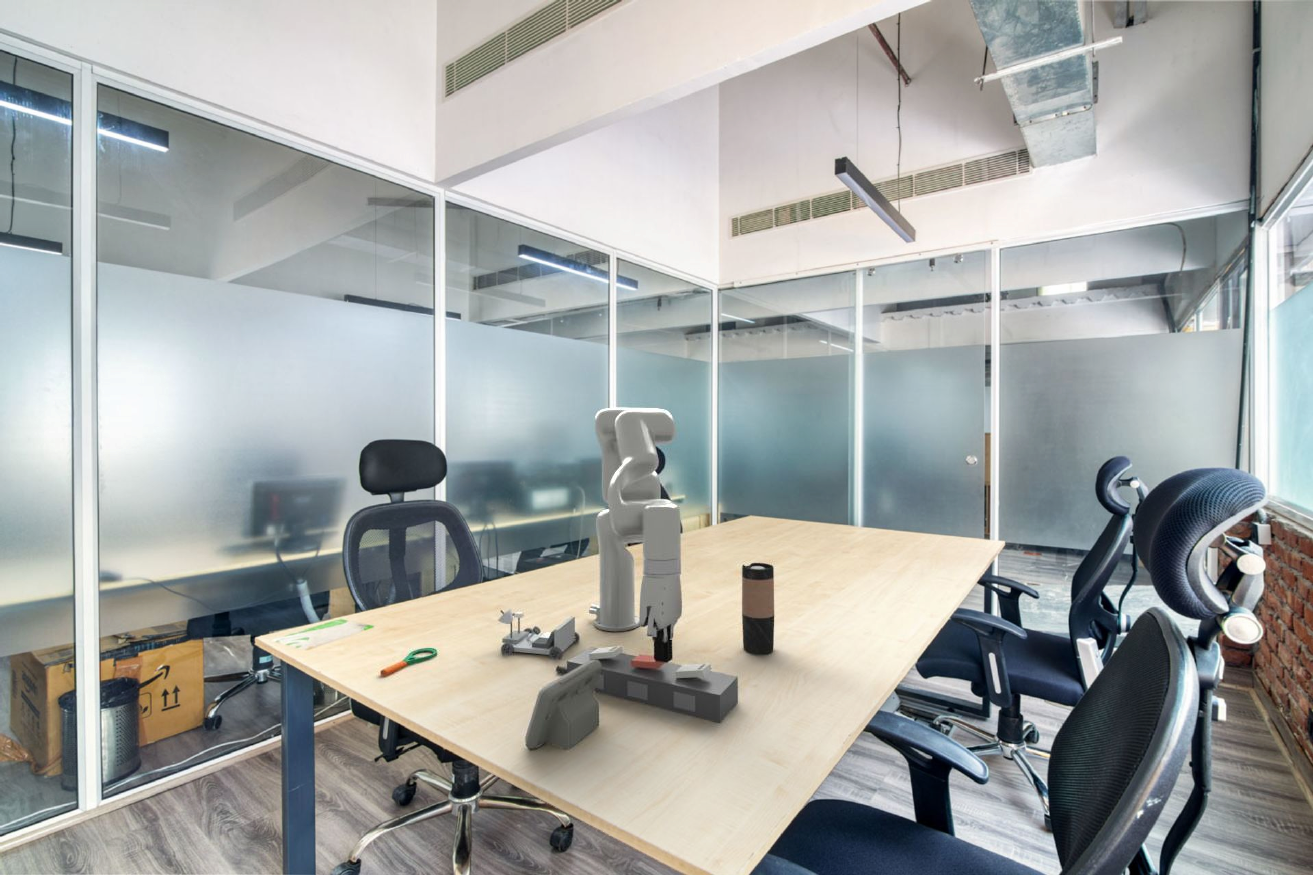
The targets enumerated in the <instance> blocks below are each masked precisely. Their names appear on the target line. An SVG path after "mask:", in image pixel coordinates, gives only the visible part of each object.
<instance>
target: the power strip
mask: <svg viewBox="0 0 1313 875" xmlns="http://www.w3.org/2000/svg"><path fill="white" fill-rule="evenodd" d="M598 648H599V647H593V646H591V647H589V648H588V649H586V650H584V651H582V652H581V653H578V654H577V655H575V656H574V657H572V658H570V659H568V660H566V667H565V666H561V665H557V666H556V668H555V671H556V672H557V673H561V674H564V675H565V674H567V673H569V672H571V671H572V670H574V669H576V668H578V667H579V666H581V665H583V664H584V663H586V662H588V661H590V657H589V653H591V652H593V651H595V650H596V649H598ZM637 656H638V655H634V654H628V653H623V652H622V653H620V654H619V655H617V656H615V657H614V658H603V659H592V660H599V661H600V663H601V672H600V675H599V678H598V682H597V685H596V688H595V691H594V693H598V694H602V695H605V696H610V697H613V698H618V699H620V700H621V699H622V700H625V701H631V702H634V703H638V704H642V705H646V706H650V707H654V708H657V709H662V710H666V711H670V712H674V713H678V714H682V715H686V716H691V717H695V718H699V719H702V720H706V721H710V722H714V723H719V724H721V723H722V722H723V720H725V718H726V717H727V716H728V715H729V714H730V712H731V711H732V710H733V709H734V708H735V707H736V706H737V704H739V676H737V675H732V674H727V673H722V672H717V671H712V670H711V671H710V672H709V673H707V674H706V675H705V676H704V677H689V678H676V675H675V671H677V670H678V669H679V668H680V667H681V666H683V665H684V664H683V665H682V664H677V663H673V662H670V661H669V662H668V663H665V664H663V665H662V666H661V667H659V668H658V669H654V668H643V667H631V660H632V659H634V658H635V657H637Z"/></svg>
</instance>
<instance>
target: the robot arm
mask: <svg viewBox="0 0 1313 875" xmlns="http://www.w3.org/2000/svg"><path fill="white" fill-rule="evenodd" d="M594 429H595V435H596V438H597V441H598V444H599V447H600V450H601V456H602V457H601V493H602V495H601V496H602V498H603V501H604V502H605V503H607V507H608V508H607V509H604V510H602V511H601V512H599V513H598V514H597V516H596V519H595V528H596V529H595V531H596V537H597V541H598V542H597V544H598V556H599V558H598V559H599V560H598V561H599V563H598V564H599V605H598V604H591V605H590V606H589V607H590V608H589V610H588V613H589V614H591V615H595V616H596V617H595V619H594V621H593V625H594V627H596V628H597V629H599V630H601V631H607V632H623V631H624V632H625V631H630V630H633V629H636V628H638V627H641V628H644V627H645V628H646V627H647V629H646V636H647V637H651V639H652V641H653V655H654V660H655V661H660V662H666V663H668V662H669V663H670V661H672V660H673V638H674V629H675V628H674V627H675V625H676V624H677V623H678V622H679V621H678V620H679V619H680V618H681V617H682V614H683V613H682V611H683V599H682V598H683V596H682V583H681V582H682V581H681V576H680V575H681V574H682V553H681V552H682V551H681V549H682V548H681V547H682V546H681V544H682V543H681V541H682V540H681V538H682V537H681V510H680V507H679V506H678V505H677V504H675V503H674V502H673V501H672V500H671V499H670V500H669V499H665V498H662V497H661V494H662V492H661V480H660V476H659V474H658V473H657V472H656V470H657V469H658V467H659V463H660V460H659V457H658V452H657V447H656V445H669V444H671V443H673V441H674V439H675V437H676V423H675V419H674V416H672V414H671V412H669V411H668V410H666V409H661V408H655V407H652V408H651V407H648V408H647V407H610V408H603V409H600V410H598V412H597V413H596V414H595V418H594ZM634 543H642V575H643V576H642V579H641V583H640V584H641V585H640V596H639V615H638V616H637V615H635V614H636V613H635V610H636V609H635V608H636V607H635V606H636V605H635V599H636V598H635V596H636V595H635V594H636V592H635V559H634V556H633V554H632V553H631V552H630V551H629V550H628V548H627V547H626V546H625V545H626V544H634Z"/></svg>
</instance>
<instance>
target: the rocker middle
mask: <svg viewBox="0 0 1313 875" xmlns="http://www.w3.org/2000/svg"><path fill="white" fill-rule="evenodd" d="M636 656H637V657H635V658H634V659H632V660H631V667H643V668H654V669H658V668H659V667H661V666H662V665H663V664H665V663H666V662H660V661H655V660H654V654H653V655H652V654H638V655H636Z"/></svg>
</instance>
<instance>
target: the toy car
mask: <svg viewBox="0 0 1313 875" xmlns="http://www.w3.org/2000/svg"><path fill="white" fill-rule="evenodd" d="M500 613H501V614H502V615H501V616H500V617H499V618H498V619H497V621H498V622H499V623H501V624H505V625H510V633H509V634H507V635H506V636H504V637H503V638H502V639H501V640H502V645H501V648H500V651H501V653H502V655H508V656H511V655H513V653H514V652H517V653H526V654H527V653H528V654H538V655H548V656H549V658H550V659H551V660H560V659H561V658H562V656H563V652H564V651H565V650H567V649H568V648H569V647H570V646H571V645H572V644H578V643H579V642H580V639H581V637H580V635H579V632H576V622H575V621H576V616H570V617H569V618H568V619H566V620H565V621H563V622H562V623H561V624H559V625H558V626H556V627H555V628H554V629H553V630H552V631H546V632H545V633H541V628H539V627H538V626H536V625H535V626H534V627H533V628H531V627H526V628H525V629H523V630H521V623H520V622H521V620H520V619H521V618H524V617H525V616H524V612H519V611H516V612H514V613H513V611H512V608H510V609H508V610H507V611H506V612H504V611H503V610H502V609H500ZM514 618H517V624H518V626H517V630H513V621H514Z"/></svg>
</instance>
